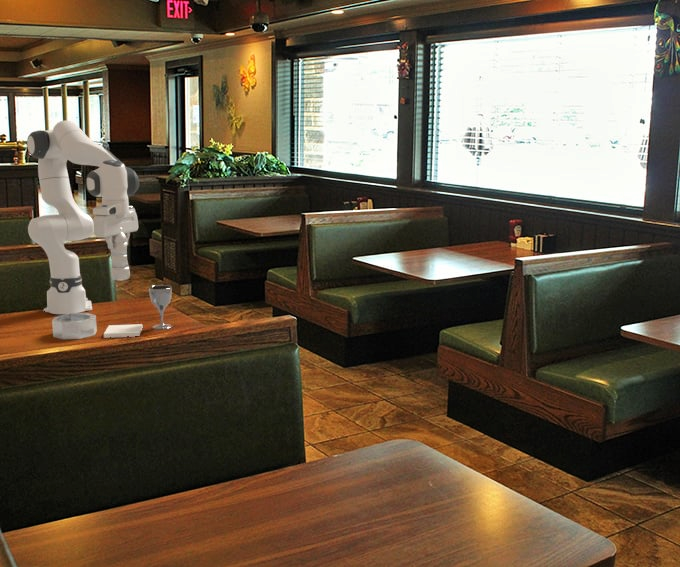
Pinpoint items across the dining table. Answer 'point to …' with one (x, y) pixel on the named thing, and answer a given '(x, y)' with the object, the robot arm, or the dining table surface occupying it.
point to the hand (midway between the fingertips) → (118, 247)
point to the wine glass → (161, 301)
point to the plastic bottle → (119, 258)
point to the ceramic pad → (123, 330)
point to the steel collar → (74, 326)
